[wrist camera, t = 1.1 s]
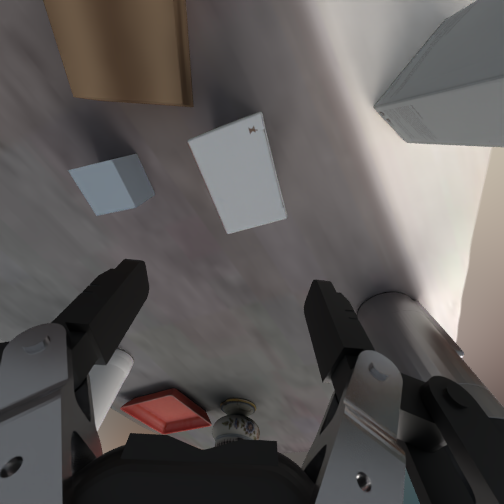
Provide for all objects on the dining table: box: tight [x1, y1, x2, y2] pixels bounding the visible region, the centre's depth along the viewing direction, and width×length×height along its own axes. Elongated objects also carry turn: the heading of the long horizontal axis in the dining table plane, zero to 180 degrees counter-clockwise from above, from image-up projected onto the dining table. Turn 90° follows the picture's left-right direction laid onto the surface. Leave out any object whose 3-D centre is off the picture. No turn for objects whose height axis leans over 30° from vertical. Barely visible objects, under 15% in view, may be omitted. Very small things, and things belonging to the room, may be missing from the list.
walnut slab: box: [43, 0, 193, 107], centre depth 18 cm, size 10×12×4 cm
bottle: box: [88, 349, 134, 431], centre depth 35 cm, size 8×8×30 cm
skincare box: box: [374, 0, 504, 147], centre depth 14 cm, size 8×6×15 cm
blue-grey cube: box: [68, 154, 155, 216], centre depth 24 cm, size 5×5×5 cm
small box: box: [187, 112, 287, 234], centre depth 20 cm, size 8×6×10 cm
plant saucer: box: [120, 388, 212, 434], centre depth 58 cm, size 18×18×3 cm
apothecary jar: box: [212, 398, 260, 447], centre depth 50 cm, size 12×12×18 cm
